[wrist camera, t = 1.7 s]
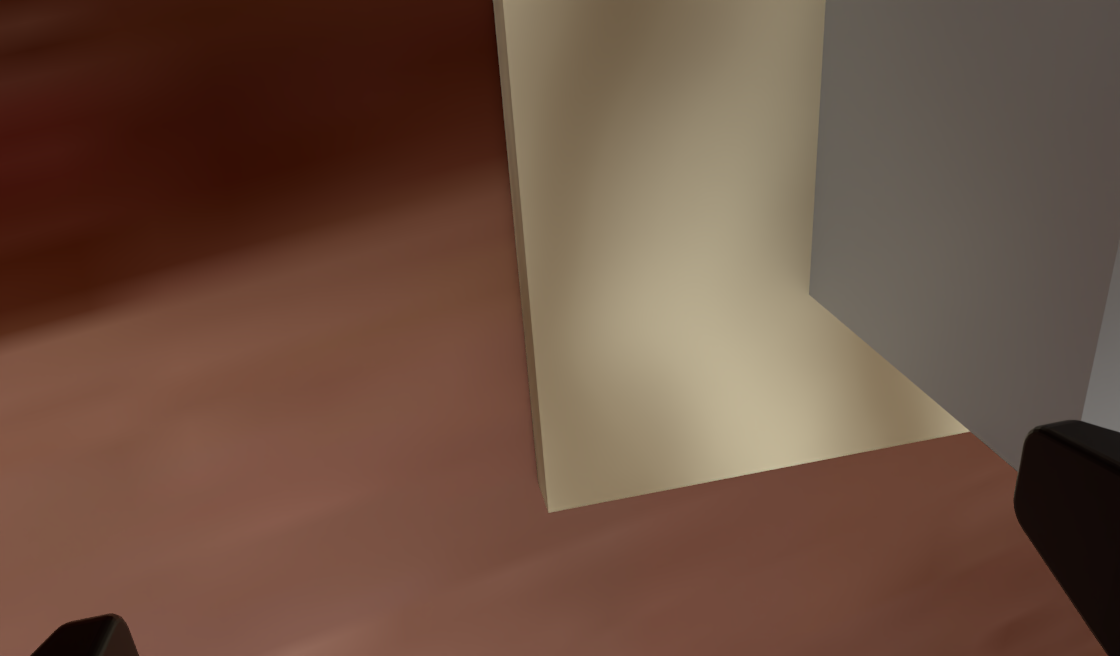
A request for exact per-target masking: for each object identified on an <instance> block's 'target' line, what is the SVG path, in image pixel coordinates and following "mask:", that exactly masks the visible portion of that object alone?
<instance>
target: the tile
mask: <svg viewBox="0 0 1120 656" xmlns="http://www.w3.org/2000/svg"><path fill="white" fill-rule="evenodd" d="M809 295H810V296H811V297H813V298H814V299H815V300H816V301H817V302H818V303H820V304H821V305H822V306H823V307H824V308H825V309H827V310H828V311H829V312H830V313H831V314H833V315H834V316H835V317H836V318H837V319H838V320H840V321H841V322H842V323H843V324H844V325H846V326H847V327H848V328H849V329H850V330H851V331H853V332H854V333H855V334H856V335H857V336H858V337H860V338H861V339H862V340H863V341H864V342H866V343H867V344H868V345H869V346H870V347H871V348H873V349H874V350H875V351H876V352H877V353H879V354H880V355H881V356H882V357H883V358H884V359H886V360H887V361H888V362H889V363H890V364H891V365H893V366H894V367H895V368H896V369H897V370H899V371H900V372H901V373H902V374H903V375H904V376H906V377H907V378H908V379H909V380H910V381H911V382H913V383H914V384H915V385H916V386H917V387H919V388H920V389H921V390H922V391H923V392H924V393H926V394H927V395H928V396H929V397H930V398H932V399H933V400H934V401H935V402H936V403H937V404H939V405H940V406H941V407H942V408H943V409H944V410H946V411H947V412H948V413H949V414H950V415H952V416H953V417H954V418H955V419H956V420H957V421H959V422H960V423H961V424H962V425H963V426H965V427H966V428H967V429H968V430H969V431H970V432H972V433H973V434H974V435H975V436H976V437H977V438H979V439H980V440H981V441H982V442H983V443H985V444H986V445H987V446H988V447H989V448H990V449H992V450H993V451H994V452H995V453H996V454H997V455H999V456H1000V457H1001V458H1002V459H1003V460H1005V461H1006V462H1007V463H1008V464H1009V465H1010V466H1012V467H1013V468H1014V469H1015V470H1016V471H1018V470H1019V464H1020V459H1021V453H1022V448H1023V442H1024V439H1025V437H1026V435H1027V434H1028V432H1029V431H1030V430H1031V429H1032V428H1034V427H1036V426H1039V425H1044V424H1049V423H1054V422H1058V421H1063V420H1080V421H1084V422H1087V423H1090V424H1094V425H1097V426H1100V427H1104V428H1107V429H1111V430H1114V431H1117V432H1120V0H826V4H825V21H824V39H823V56H822V74H821V92H820V109H819V127H818V144H817V162H816V179H815V197H814V215H813V232H812V250H811V267H810V285H809Z"/></svg>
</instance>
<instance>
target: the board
mask: <svg viewBox="0 0 1120 656" xmlns="http://www.w3.org/2000/svg"><path fill="white" fill-rule="evenodd" d="M825 4H826V0H493V6H494V17H495V27H496V38H497V49H498V59H499V70H500V81H501V91H502V102H503V113H504V123H505V134H506V145H507V156H508V166H509V177H510V188H511V198H512V209H513V220H514V230H515V241H516V252H517V262H518V273H519V284H520V294H521V305H522V316H523V326H524V337H525V348H526V358H527V369H528V380H529V391H530V401H531V412H532V423H533V433H534V444H535V455H536V465H537V476H538V484H539V487H540V490H541V493H542V496H543V499H544V501H545V504H546V507H547V510H548V513H550V512H555V511H560V510H565V509H571V508H576V507H581V506H586V505H591V504H597V503H602V502H607V501H612V500H617V499H623V498H628V497H633V496H638V495H643V494H648V493H654V492H659V491H664V490H669V489H674V488H680V487H685V486H690V485H695V484H700V483H706V482H711V481H716V480H721V479H726V478H731V477H737V476H742V475H747V474H752V473H757V472H763V471H768V470H773V469H778V468H783V467H789V466H794V465H799V464H804V463H809V462H814V461H820V460H825V459H830V458H835V457H840V456H846V455H851V454H856V453H861V452H866V451H872V450H877V449H882V448H887V447H892V446H897V445H903V444H908V443H913V442H918V441H923V440H929V439H934V438H939V437H944V436H949V435H955V434H960V433H965V432H970V431H969V430H968V429H967V428H966V427H965V426H963V425H962V424H961V423H960V422H959V421H957V420H956V419H955V418H954V417H953V416H952V415H950V414H949V413H948V412H947V411H946V410H944V409H943V408H942V407H941V406H940V405H939V404H937V403H936V402H935V401H934V400H933V399H932V398H930V397H929V396H928V395H927V394H926V393H924V392H923V391H922V390H921V389H920V388H919V387H917V386H916V385H915V384H914V383H913V382H911V381H910V380H909V379H908V378H907V377H906V376H904V375H903V374H902V373H901V372H900V371H899V370H897V369H896V368H895V367H894V366H893V365H891V364H890V363H889V362H888V361H887V360H886V359H884V358H883V357H882V356H881V355H880V354H879V353H877V352H876V351H875V350H874V349H873V348H871V347H870V346H869V345H868V344H867V343H866V342H864V341H863V340H862V339H861V338H860V337H858V336H857V335H856V334H855V333H854V332H853V331H851V330H850V329H849V328H848V327H847V326H846V325H844V324H843V323H842V322H841V321H840V320H838V319H837V318H836V317H835V316H834V315H833V314H831V313H830V312H829V311H828V310H827V309H825V308H824V307H823V306H822V305H821V304H820V303H818V302H817V301H816V300H815V299H814V298H813V297H811V296H810V295H809V285H810V267H811V250H812V232H813V215H814V197H815V179H816V162H817V144H818V127H819V109H820V92H821V74H822V56H823V39H824V21H825Z"/></svg>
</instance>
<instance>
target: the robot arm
mask: <svg viewBox="0 0 1120 656" xmlns="http://www.w3.org/2000/svg"><path fill="white" fill-rule="evenodd" d="M1013 501H1014V509H1015V513H1016V517H1017V519H1018V521H1019V524H1020V525H1021V527H1022V529H1023V530H1024V532H1025V533H1026V535H1027V536H1028V538H1029V539H1030V541H1031V542H1032V544H1033V545H1034V547H1035V548H1036V550H1037V551H1038V553H1039V554H1040V556H1041V557H1042V559H1043V560H1044V562H1045V563H1046V565H1047V566H1048V568H1049V569H1050V571H1051V572H1052V574H1053V575H1054V577H1055V578H1056V580H1057V581H1058V582H1059V584H1060V585H1061V587H1062V588H1063V590H1064V591H1065V593H1066V594H1067V596H1068V597H1069V599H1070V600H1071V602H1072V603H1073V605H1074V606H1075V608H1076V609H1077V611H1078V612H1079V614H1080V615H1081V617H1082V618H1083V620H1084V621H1085V623H1086V624H1087V626H1088V627H1089V629H1090V630H1091V632H1092V633H1093V635H1094V636H1095V638H1096V639H1097V641H1098V642H1099V643H1100V645H1101V646H1102V648H1103V649H1104V650H1105V652H1106V653H1107V655H1108V656H1120V432H1117V431H1114V430H1111V429H1107V428H1104V427H1100V426H1097V425H1094V424H1090V423H1087V422H1084V421H1080V420H1063V421H1058V422H1054V423H1049V424H1044V425H1039V426H1036V427H1034V428H1032V429H1031V430H1030V431H1029V432H1028V434H1027V435H1026V437H1025V439H1024V442H1023V448H1022V453H1021V459H1020V464H1019V470H1018V475H1017V481H1016V486H1015V492H1014V500H1013ZM30 656H139V654H138V652H137V649H136V646H135V644H134V641H133V638H132V636H131V633H130V630H129V628H128V626H127V624H126V622H125V621H124V620H123V618H122V617H121V616H118V615H116V614H105V615H100V616H95V617H90V618H85V619H80V620H76V621H71V622H68V623H65V624H63V625H62V626H60V627H59V628H58V629H57V630H55V631H54V632H53V633H52V634H51V635H50V636H49V637H48V638H47V639H46V640H45V641H44V642H43V643H42V644H41V645H40V646H39V647H38V648H37V649H36V650H35V651H34V652H33V653H32V654H31V655H30Z"/></svg>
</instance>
